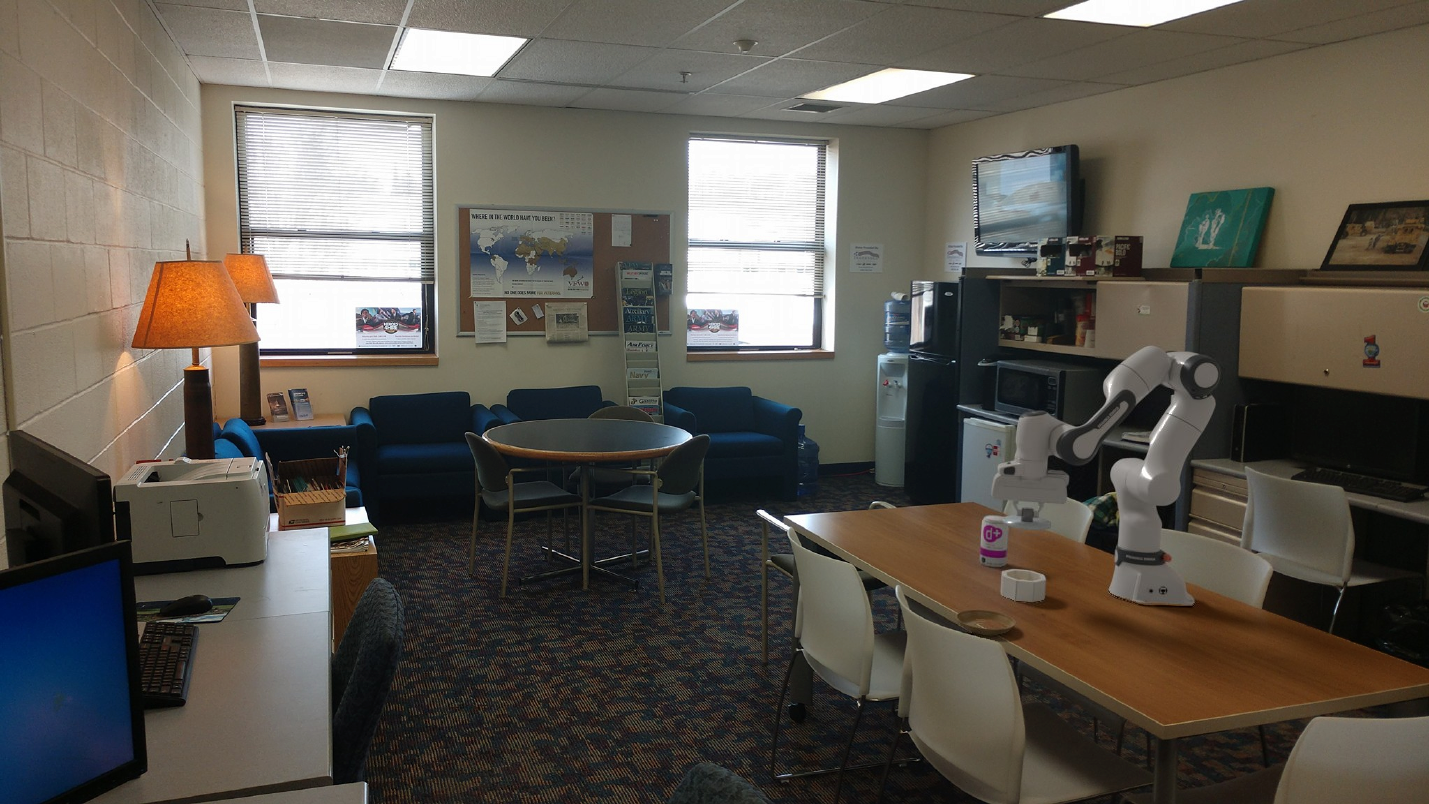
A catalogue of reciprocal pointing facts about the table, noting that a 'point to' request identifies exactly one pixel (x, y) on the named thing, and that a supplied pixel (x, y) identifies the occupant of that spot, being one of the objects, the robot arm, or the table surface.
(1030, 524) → the lid
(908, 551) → the table surface
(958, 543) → the table surface
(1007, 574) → the bowl
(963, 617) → the plant saucer
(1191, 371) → the robot arm
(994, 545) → the supplement can
